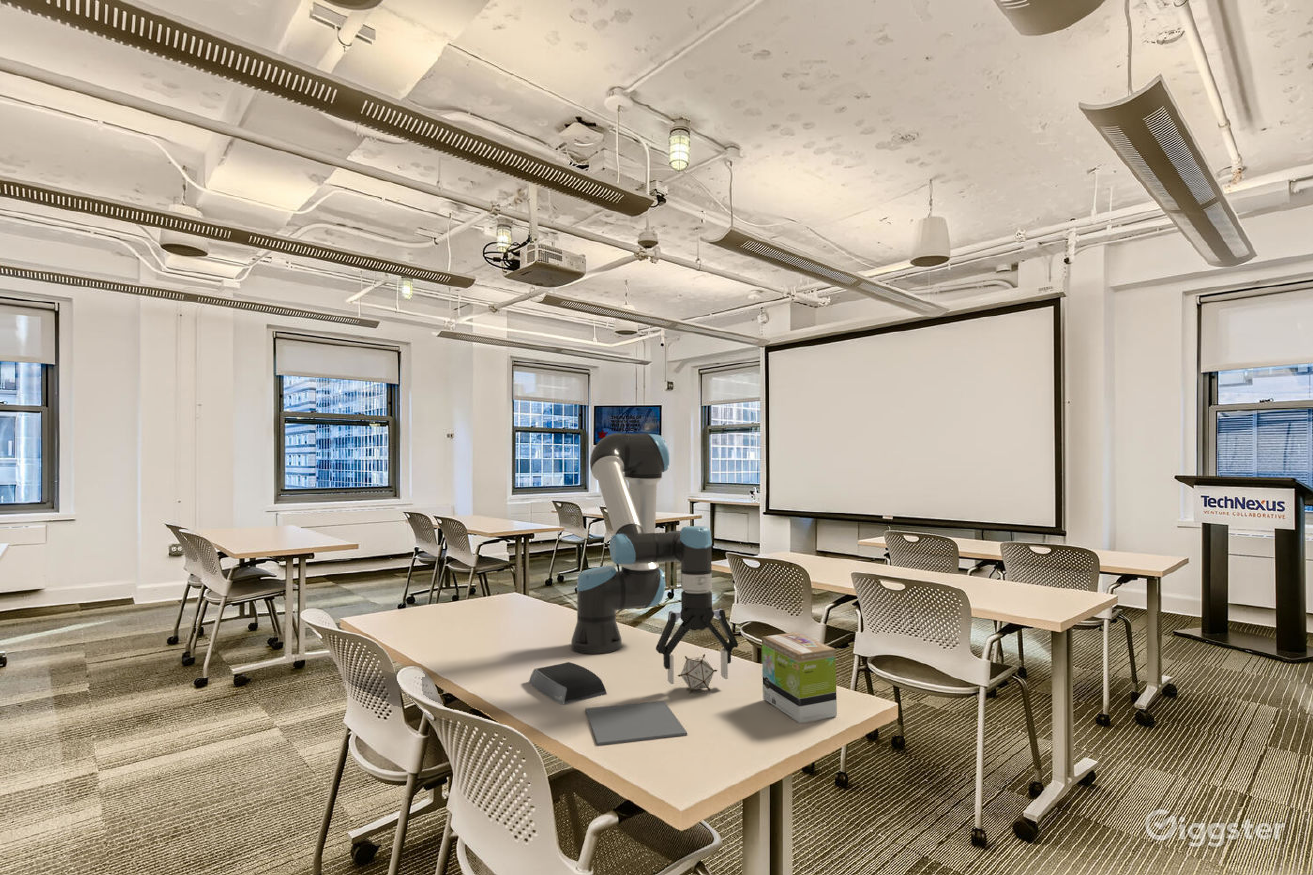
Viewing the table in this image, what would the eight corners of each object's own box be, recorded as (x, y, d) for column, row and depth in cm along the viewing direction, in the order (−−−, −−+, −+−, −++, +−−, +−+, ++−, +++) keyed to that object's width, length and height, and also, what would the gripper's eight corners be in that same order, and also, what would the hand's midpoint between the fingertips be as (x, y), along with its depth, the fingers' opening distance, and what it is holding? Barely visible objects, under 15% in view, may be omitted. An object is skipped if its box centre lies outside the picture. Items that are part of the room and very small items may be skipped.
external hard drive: (559, 708, 139) (559, 689, 139) (526, 684, 155) (526, 667, 155) (609, 695, 146) (609, 678, 146) (572, 674, 162) (572, 658, 162)
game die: (703, 707, 147) (713, 682, 141) (670, 692, 148) (679, 666, 143) (714, 679, 154) (723, 653, 149) (682, 664, 156) (691, 639, 150)
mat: (585, 710, 136) (585, 708, 136) (663, 702, 140) (663, 700, 140) (597, 745, 118) (597, 742, 118) (687, 735, 123) (687, 732, 123)
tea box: (761, 700, 141) (760, 634, 142) (797, 694, 145) (796, 630, 146) (799, 724, 127) (798, 652, 128) (839, 717, 131) (837, 647, 132)
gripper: (650, 596, 143) (651, 689, 142) (750, 590, 149) (752, 679, 148) (643, 590, 150) (644, 679, 149) (738, 585, 156) (740, 670, 155)
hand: (697, 679), depth 148 cm, fingers open, 13 cm apart
